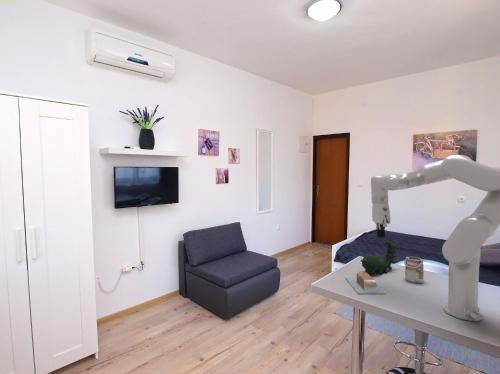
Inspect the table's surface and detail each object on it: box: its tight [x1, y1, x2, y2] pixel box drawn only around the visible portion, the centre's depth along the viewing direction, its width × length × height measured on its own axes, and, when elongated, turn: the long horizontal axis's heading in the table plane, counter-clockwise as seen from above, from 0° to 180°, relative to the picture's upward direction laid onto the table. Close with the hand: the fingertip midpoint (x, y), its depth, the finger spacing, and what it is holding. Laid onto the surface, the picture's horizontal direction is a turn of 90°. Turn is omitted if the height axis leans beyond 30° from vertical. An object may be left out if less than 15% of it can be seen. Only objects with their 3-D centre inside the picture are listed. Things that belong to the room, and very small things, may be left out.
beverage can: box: [403, 256, 424, 284], centre depth 142 cm, size 9×8×12 cm
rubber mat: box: [344, 276, 387, 295], centre depth 138 cm, size 20×13×1 cm, turn 178°
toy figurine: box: [360, 240, 397, 276], centre depth 155 cm, size 9×19×25 cm
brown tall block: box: [356, 271, 377, 292], centre depth 135 cm, size 5×5×12 cm
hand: (380, 237), depth 134 cm, fingers closed
